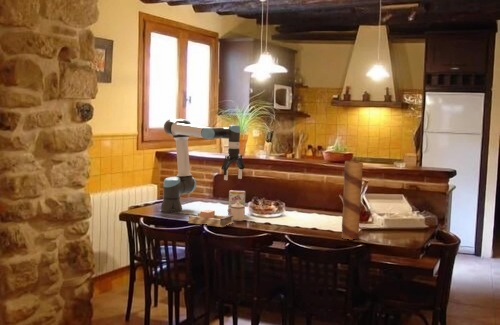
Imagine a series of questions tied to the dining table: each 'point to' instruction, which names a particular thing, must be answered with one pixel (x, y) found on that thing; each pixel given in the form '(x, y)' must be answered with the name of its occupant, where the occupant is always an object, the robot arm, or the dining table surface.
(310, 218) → the dining table surface
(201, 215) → the block
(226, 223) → the chute
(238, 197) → the candy bar box
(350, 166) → the wafer roll
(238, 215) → the teacup with lid
